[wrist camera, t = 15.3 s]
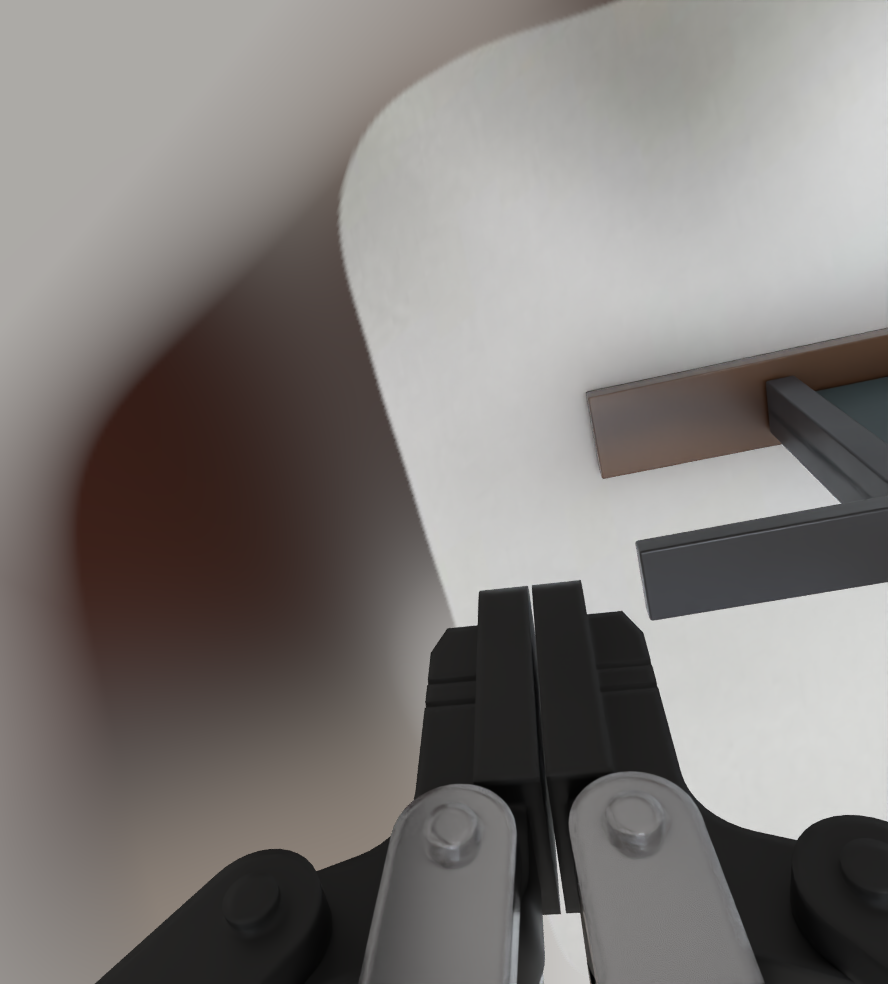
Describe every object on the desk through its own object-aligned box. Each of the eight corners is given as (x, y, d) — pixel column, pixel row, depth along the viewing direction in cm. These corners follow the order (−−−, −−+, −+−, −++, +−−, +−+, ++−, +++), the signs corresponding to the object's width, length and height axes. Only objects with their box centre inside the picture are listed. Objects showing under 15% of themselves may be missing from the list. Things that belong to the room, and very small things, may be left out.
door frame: (585, 392, 35) (638, 537, 22) (994, 304, 33) (1353, 407, 19) (599, 471, 37) (657, 655, 23) (992, 394, 34) (1324, 550, 20)
